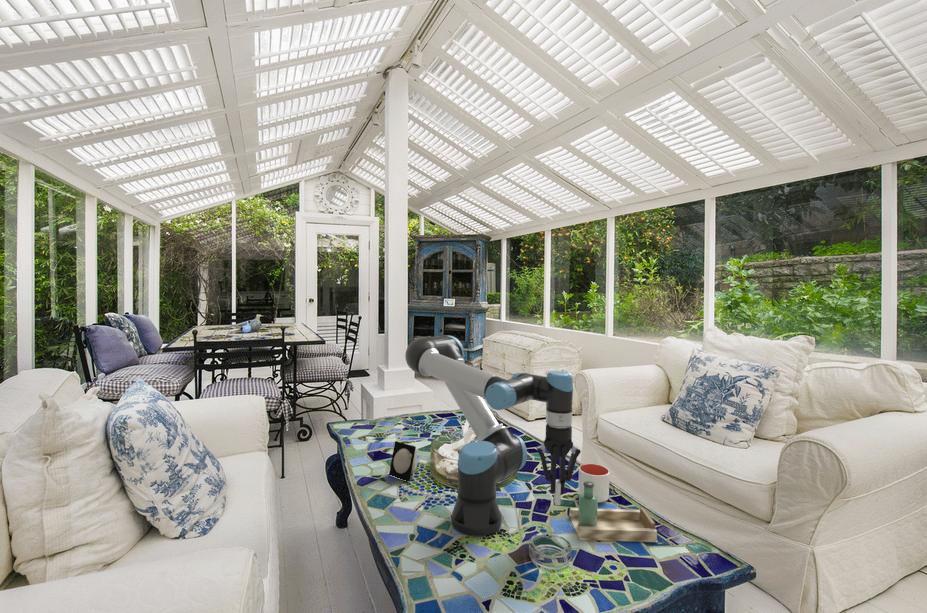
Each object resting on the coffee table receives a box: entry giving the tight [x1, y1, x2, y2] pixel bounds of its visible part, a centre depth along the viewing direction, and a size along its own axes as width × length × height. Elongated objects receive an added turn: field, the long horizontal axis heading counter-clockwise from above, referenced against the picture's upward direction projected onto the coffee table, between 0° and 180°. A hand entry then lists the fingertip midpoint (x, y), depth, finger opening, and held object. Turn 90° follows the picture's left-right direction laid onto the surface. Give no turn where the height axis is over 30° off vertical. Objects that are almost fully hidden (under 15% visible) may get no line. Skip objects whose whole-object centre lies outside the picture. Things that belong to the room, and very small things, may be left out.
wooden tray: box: [568, 507, 659, 543], centre depth 133 cm, size 22×14×5 cm, turn 89°
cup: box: [577, 463, 611, 503], centre depth 153 cm, size 10×10×10 cm
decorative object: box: [388, 440, 418, 483], centre depth 168 cm, size 13×10×10 cm
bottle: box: [578, 481, 599, 527], centre depth 133 cm, size 5×5×13 cm
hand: (557, 502), depth 133 cm, fingers closed
